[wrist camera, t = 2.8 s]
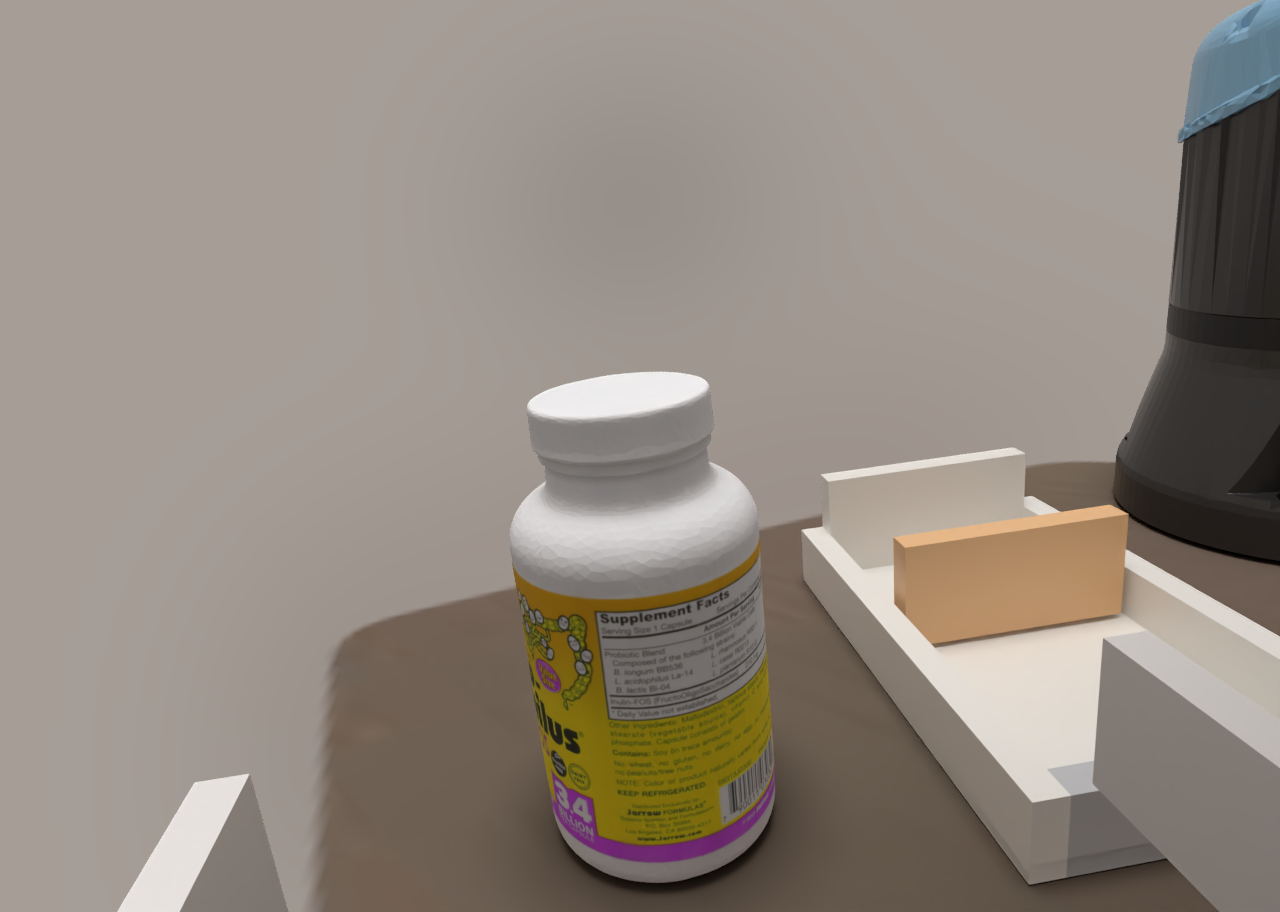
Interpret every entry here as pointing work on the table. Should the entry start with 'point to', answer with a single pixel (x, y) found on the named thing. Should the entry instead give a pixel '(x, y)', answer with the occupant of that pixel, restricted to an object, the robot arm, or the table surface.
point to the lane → (1011, 660)
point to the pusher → (1012, 573)
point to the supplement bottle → (644, 629)
